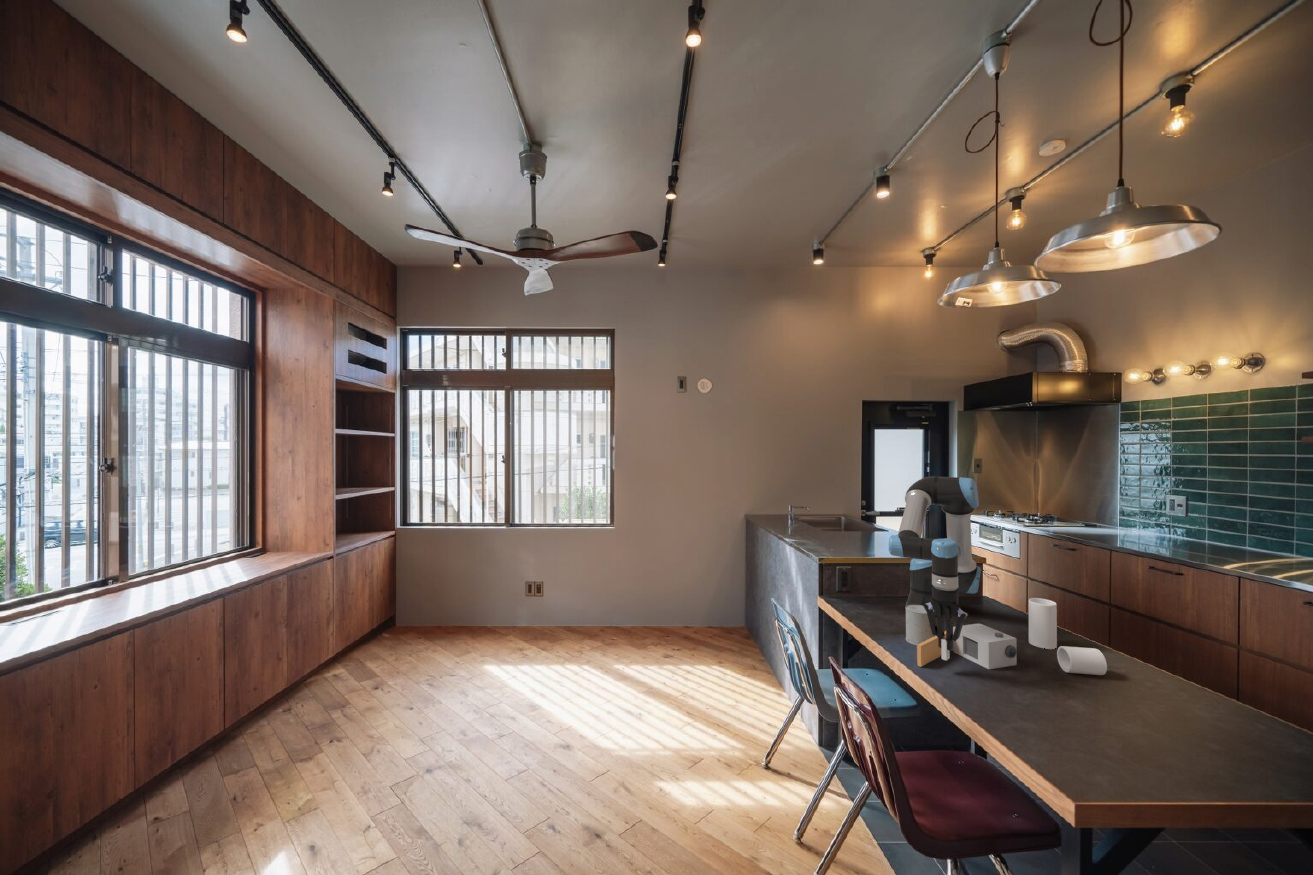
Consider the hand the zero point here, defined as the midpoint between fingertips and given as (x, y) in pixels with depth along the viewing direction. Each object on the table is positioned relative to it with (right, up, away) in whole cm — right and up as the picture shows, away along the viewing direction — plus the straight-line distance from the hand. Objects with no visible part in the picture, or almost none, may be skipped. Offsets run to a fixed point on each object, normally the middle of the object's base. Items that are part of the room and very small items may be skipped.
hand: (945, 658), depth 162 cm
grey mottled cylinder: (+4, -5, +24) cm, 25 cm away
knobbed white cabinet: (+19, -4, +10) cm, 22 cm away
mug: (+44, -5, +1) cm, 45 cm away
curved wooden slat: (+2, -4, +10) cm, 11 cm away
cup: (+48, -4, +21) cm, 53 cm away
